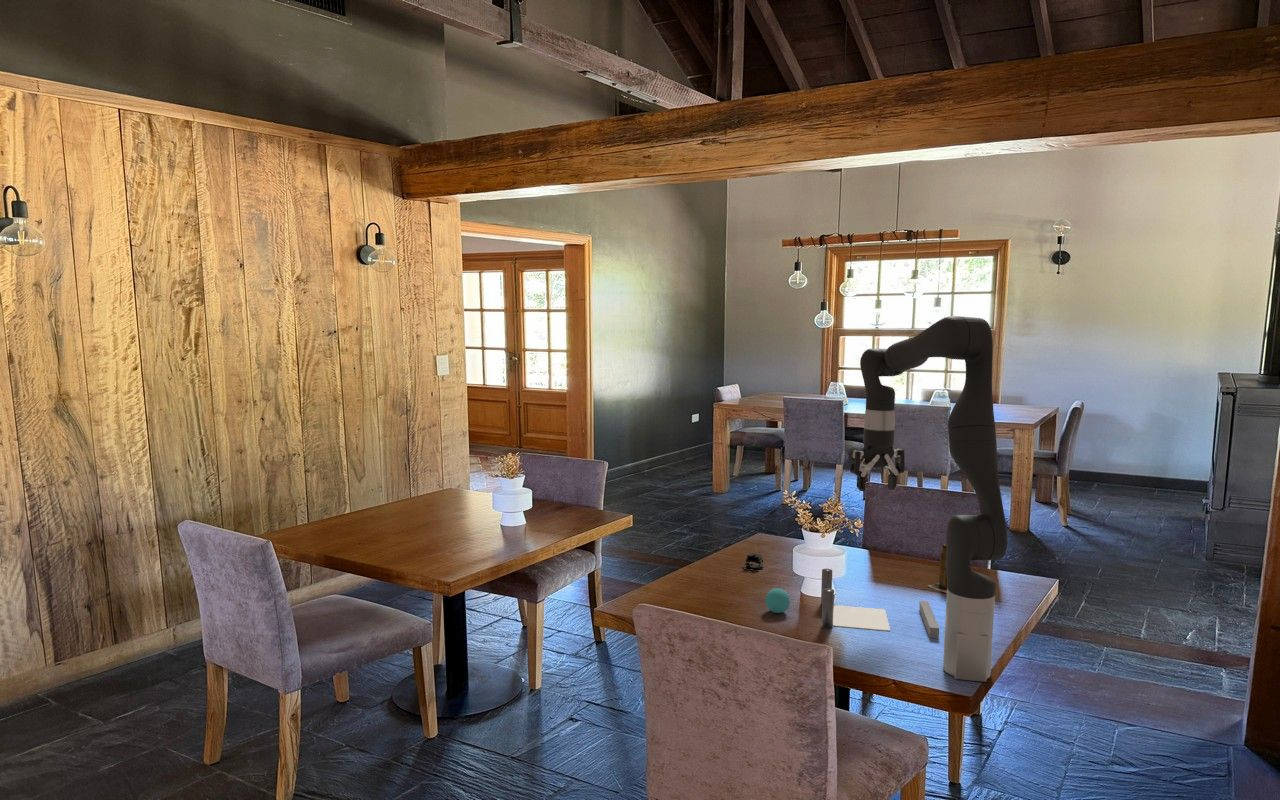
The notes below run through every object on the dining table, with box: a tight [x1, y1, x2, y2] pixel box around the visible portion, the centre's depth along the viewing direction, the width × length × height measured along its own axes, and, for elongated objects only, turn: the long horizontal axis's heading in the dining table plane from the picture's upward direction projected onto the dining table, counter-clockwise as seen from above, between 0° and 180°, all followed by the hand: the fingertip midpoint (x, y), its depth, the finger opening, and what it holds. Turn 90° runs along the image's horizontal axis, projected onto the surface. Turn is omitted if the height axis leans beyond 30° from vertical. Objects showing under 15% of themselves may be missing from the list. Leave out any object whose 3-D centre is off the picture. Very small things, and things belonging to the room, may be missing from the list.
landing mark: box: [833, 604, 891, 632], centre depth 197 cm, size 14×14×1 cm
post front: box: [821, 588, 835, 630], centre depth 190 cm, size 3×3×9 cm
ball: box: [765, 588, 791, 614], centre depth 200 cm, size 6×6×6 cm
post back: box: [820, 568, 833, 606], centre depth 206 cm, size 3×3×9 cm
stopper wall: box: [918, 600, 940, 640], centre depth 193 cm, size 18×2×2 cm, turn 168°
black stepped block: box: [739, 552, 765, 570], centre depth 235 cm, size 12×7×5 cm, turn 62°
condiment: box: [927, 542, 947, 594], centre depth 219 cm, size 7×8×12 cm
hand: (876, 489), depth 205 cm, fingers open, 8 cm apart
